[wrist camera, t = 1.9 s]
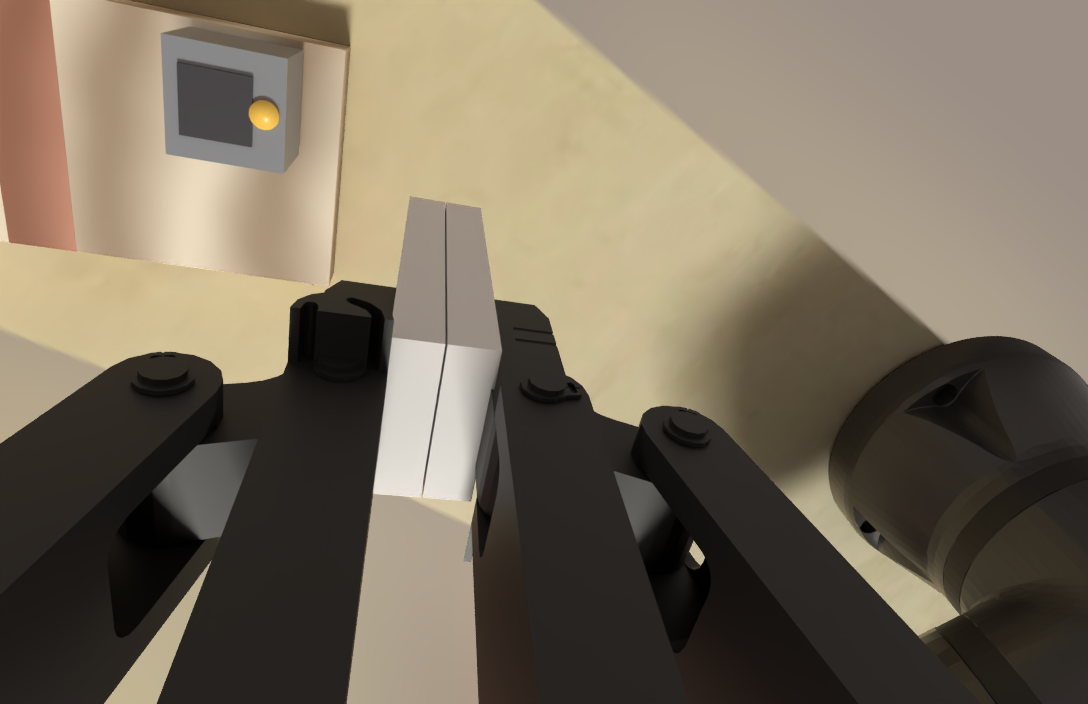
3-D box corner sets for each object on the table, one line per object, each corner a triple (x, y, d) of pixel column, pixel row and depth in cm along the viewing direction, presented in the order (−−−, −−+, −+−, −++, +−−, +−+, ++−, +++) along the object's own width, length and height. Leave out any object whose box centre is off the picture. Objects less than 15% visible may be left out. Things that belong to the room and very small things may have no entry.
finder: (303, 49, 26) (286, 59, 23) (298, 155, 28) (283, 174, 25) (189, 26, 25) (158, 33, 23) (192, 136, 27) (164, 155, 24)
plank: (350, 46, 28) (345, 50, 27) (333, 273, 32) (328, 286, 31) (-112, -51, 25) (-144, -52, 23) (-59, 217, 29) (-83, 229, 28)
